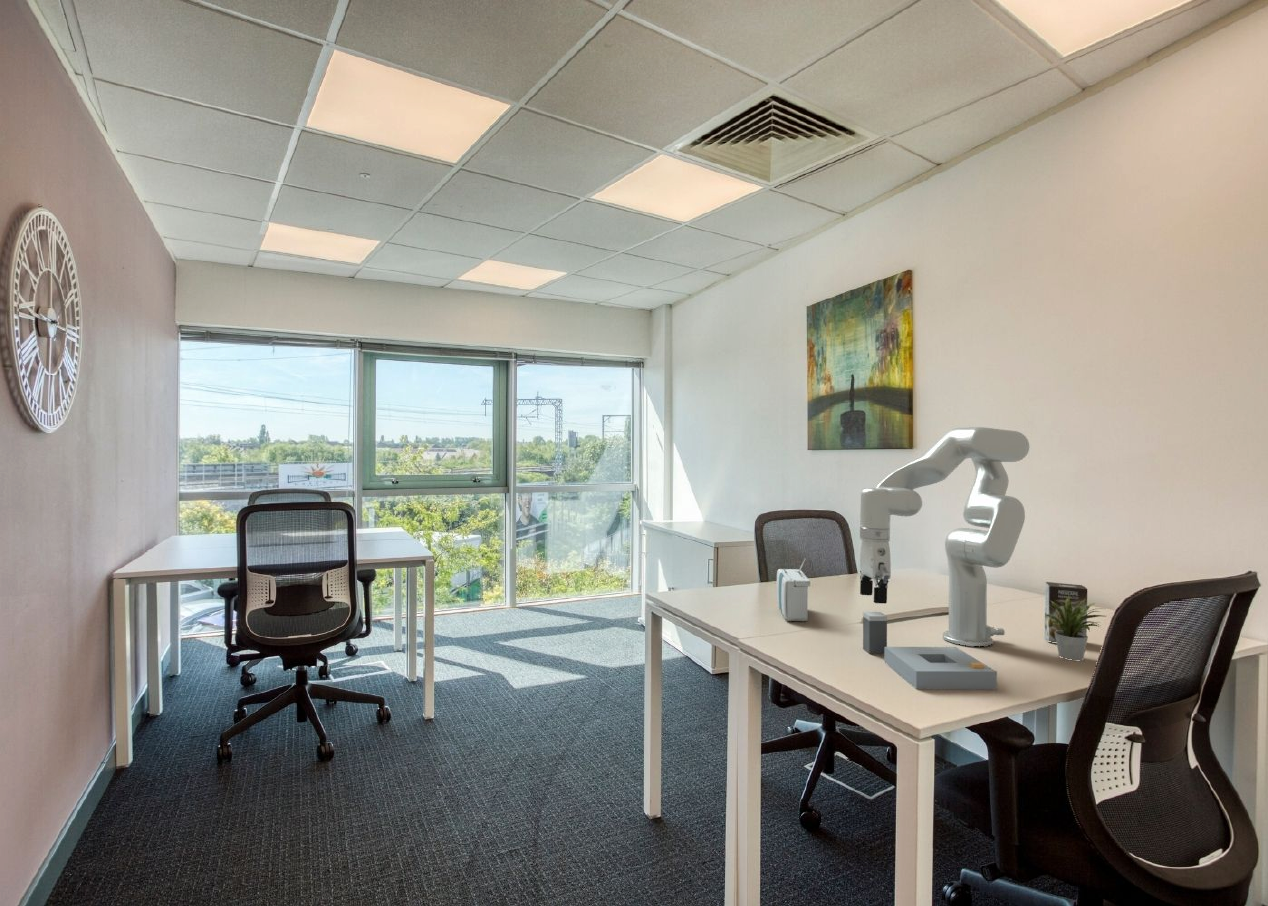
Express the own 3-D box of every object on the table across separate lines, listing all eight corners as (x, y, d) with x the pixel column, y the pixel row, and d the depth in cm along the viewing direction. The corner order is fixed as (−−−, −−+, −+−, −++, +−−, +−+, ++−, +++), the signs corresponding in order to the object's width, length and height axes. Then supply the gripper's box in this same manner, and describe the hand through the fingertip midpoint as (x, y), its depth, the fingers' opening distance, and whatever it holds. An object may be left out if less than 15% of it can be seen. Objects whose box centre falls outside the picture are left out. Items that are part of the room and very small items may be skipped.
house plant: (1080, 671, 154) (1080, 604, 154) (1025, 654, 167) (1025, 592, 167) (1116, 664, 160) (1116, 599, 160) (1060, 648, 173) (1061, 588, 173)
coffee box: (1047, 643, 177) (1048, 585, 177) (1044, 637, 183) (1044, 581, 183) (1087, 647, 174) (1087, 588, 174) (1082, 641, 179) (1082, 584, 179)
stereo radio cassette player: (776, 606, 219) (776, 548, 219) (800, 607, 218) (800, 548, 218) (783, 622, 198) (784, 558, 198) (810, 623, 197) (811, 559, 197)
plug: (880, 649, 172) (880, 611, 172) (886, 654, 167) (887, 616, 167) (863, 648, 172) (863, 611, 172) (869, 654, 167) (869, 616, 167)
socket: (955, 662, 160) (955, 643, 160) (996, 689, 142) (996, 668, 142) (884, 662, 160) (884, 643, 160) (916, 689, 142) (916, 667, 142)
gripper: (902, 539, 161) (900, 607, 160) (876, 531, 178) (874, 592, 178) (872, 538, 161) (871, 606, 160) (849, 530, 178) (847, 591, 178)
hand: (873, 598), depth 169 cm, fingers open, 9 cm apart
